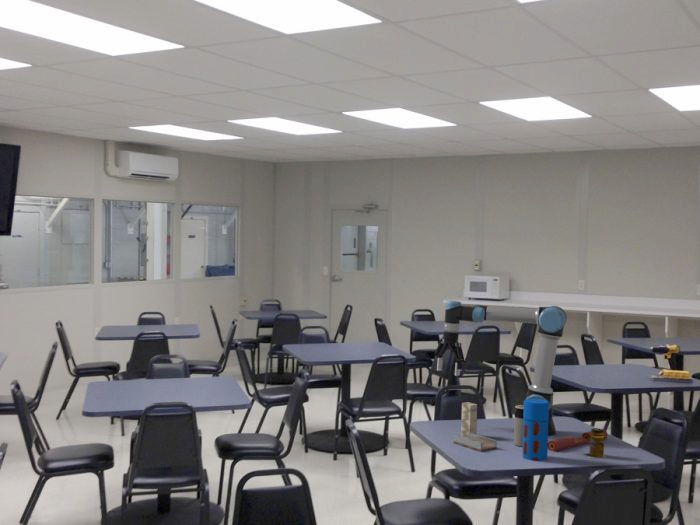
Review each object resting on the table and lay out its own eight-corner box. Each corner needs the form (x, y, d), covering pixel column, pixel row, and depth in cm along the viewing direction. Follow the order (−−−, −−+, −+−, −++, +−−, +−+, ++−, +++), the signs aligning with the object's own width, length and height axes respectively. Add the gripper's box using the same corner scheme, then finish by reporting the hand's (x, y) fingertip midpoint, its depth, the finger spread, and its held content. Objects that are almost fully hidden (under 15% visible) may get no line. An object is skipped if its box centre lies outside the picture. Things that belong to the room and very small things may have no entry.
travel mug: (510, 444, 363) (511, 406, 362) (519, 441, 368) (520, 404, 368) (525, 447, 357) (526, 409, 357) (534, 445, 363) (535, 406, 363)
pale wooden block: (461, 435, 378) (461, 403, 378) (467, 434, 381) (468, 402, 381) (469, 438, 373) (470, 405, 373) (476, 437, 376) (477, 404, 376)
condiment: (607, 457, 343) (608, 431, 343) (590, 458, 341) (591, 431, 341) (598, 453, 350) (599, 427, 350) (581, 454, 348) (582, 427, 348)
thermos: (547, 461, 334) (549, 404, 334) (522, 459, 336) (524, 402, 336) (546, 455, 345) (548, 399, 344) (522, 453, 347) (523, 398, 346)
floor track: (453, 443, 363) (453, 434, 363) (469, 440, 369) (469, 432, 369) (480, 451, 348) (480, 443, 348) (496, 449, 354) (496, 440, 354)
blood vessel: (556, 452, 351) (556, 441, 351) (547, 450, 355) (547, 439, 355) (607, 440, 378) (607, 429, 378) (598, 438, 382) (598, 427, 382)
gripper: (429, 328, 399) (426, 368, 400) (462, 334, 379) (459, 377, 379) (440, 327, 403) (437, 368, 404) (473, 334, 383) (470, 377, 384)
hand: (448, 373), depth 392 cm, fingers open, 13 cm apart
